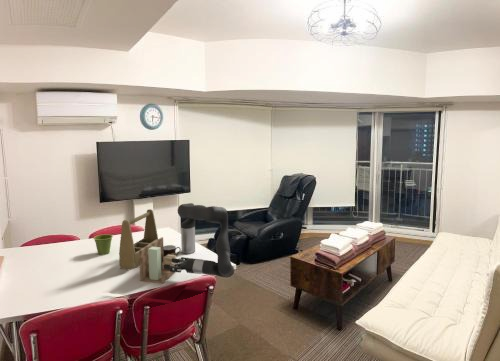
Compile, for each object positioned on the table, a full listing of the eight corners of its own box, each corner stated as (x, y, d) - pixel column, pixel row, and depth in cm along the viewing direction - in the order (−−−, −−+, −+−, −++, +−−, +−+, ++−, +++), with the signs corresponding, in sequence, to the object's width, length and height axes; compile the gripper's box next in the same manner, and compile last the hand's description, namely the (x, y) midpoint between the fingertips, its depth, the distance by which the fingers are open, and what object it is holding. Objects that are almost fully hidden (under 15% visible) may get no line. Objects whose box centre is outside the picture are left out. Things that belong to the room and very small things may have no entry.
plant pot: (100, 257, 209) (99, 240, 207) (91, 253, 216) (89, 237, 214) (117, 252, 218) (116, 236, 217) (107, 248, 225) (106, 233, 224)
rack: (162, 265, 195) (161, 237, 193) (182, 267, 193) (181, 238, 190) (140, 283, 172) (139, 250, 170) (162, 285, 169) (161, 252, 167)
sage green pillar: (153, 276, 178) (152, 246, 176) (161, 277, 177) (160, 247, 175) (149, 279, 174) (148, 249, 172) (157, 280, 173) (156, 249, 171)
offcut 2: (166, 264, 194) (166, 259, 194) (177, 265, 193) (177, 259, 193) (162, 268, 189) (162, 262, 188) (173, 269, 188) (173, 263, 187)
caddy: (135, 270, 189) (133, 220, 185) (119, 268, 191) (116, 219, 187) (159, 253, 217) (157, 209, 214) (144, 251, 220) (142, 208, 216)
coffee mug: (162, 266, 195) (161, 250, 194) (162, 261, 203) (161, 245, 202) (181, 264, 198) (181, 248, 197) (180, 259, 206) (180, 244, 205)
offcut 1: (168, 259, 194) (168, 254, 193) (176, 260, 192) (176, 255, 191) (163, 262, 189) (163, 257, 189) (171, 263, 187) (171, 258, 187)
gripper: (201, 254, 176) (173, 252, 179) (190, 264, 162) (161, 261, 165) (201, 267, 177) (174, 264, 180) (191, 278, 163) (161, 275, 166)
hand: (168, 263), depth 173 cm, fingers open, 8 cm apart
